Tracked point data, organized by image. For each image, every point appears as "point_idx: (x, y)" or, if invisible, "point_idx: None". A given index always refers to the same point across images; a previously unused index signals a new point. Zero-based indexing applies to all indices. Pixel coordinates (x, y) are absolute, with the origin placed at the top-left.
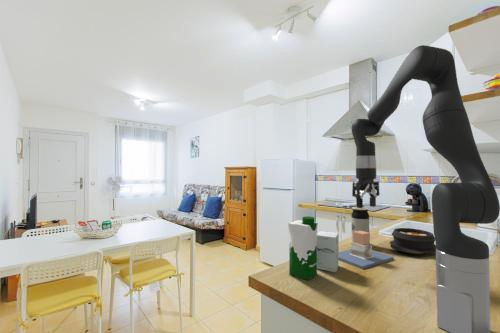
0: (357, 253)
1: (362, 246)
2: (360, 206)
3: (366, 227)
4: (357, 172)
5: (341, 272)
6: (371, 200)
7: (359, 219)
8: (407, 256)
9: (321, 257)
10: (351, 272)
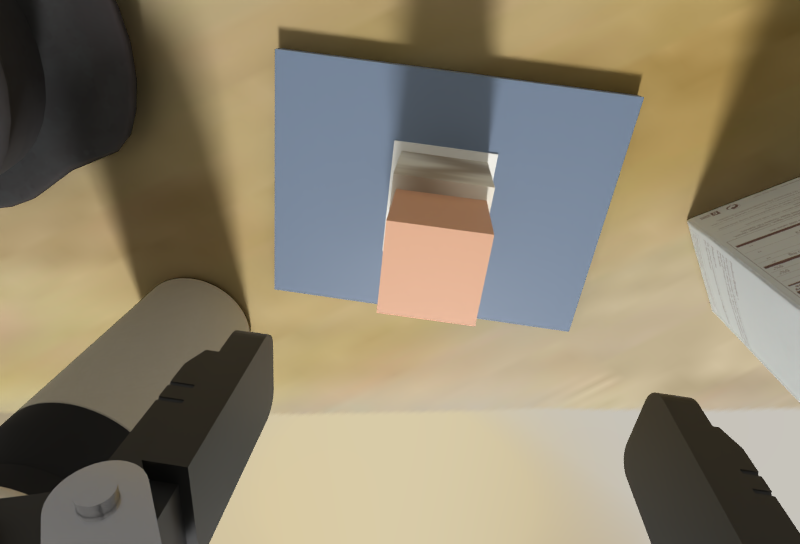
0: None
1: (491, 199)
2: (703, 424)
3: (132, 357)
4: None
5: (786, 151)
6: (227, 468)
7: None
8: (129, 10)
9: None
10: (744, 111)
